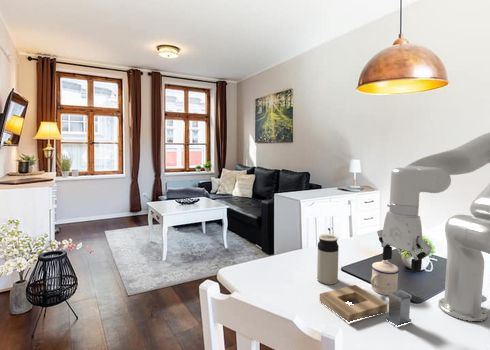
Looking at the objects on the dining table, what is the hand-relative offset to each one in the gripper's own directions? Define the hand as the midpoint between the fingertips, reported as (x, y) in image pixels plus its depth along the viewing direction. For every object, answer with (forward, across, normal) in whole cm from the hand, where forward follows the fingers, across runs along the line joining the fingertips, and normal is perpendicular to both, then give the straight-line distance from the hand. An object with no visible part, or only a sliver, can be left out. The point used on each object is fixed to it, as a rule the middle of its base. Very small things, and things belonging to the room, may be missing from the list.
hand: (400, 265), depth 86 cm
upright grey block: (+18, 0, 0) cm, 18 cm away
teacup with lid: (+18, -16, +11) cm, 27 cm away
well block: (+18, -12, -7) cm, 23 cm away
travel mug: (+18, -31, -2) cm, 36 cm away
